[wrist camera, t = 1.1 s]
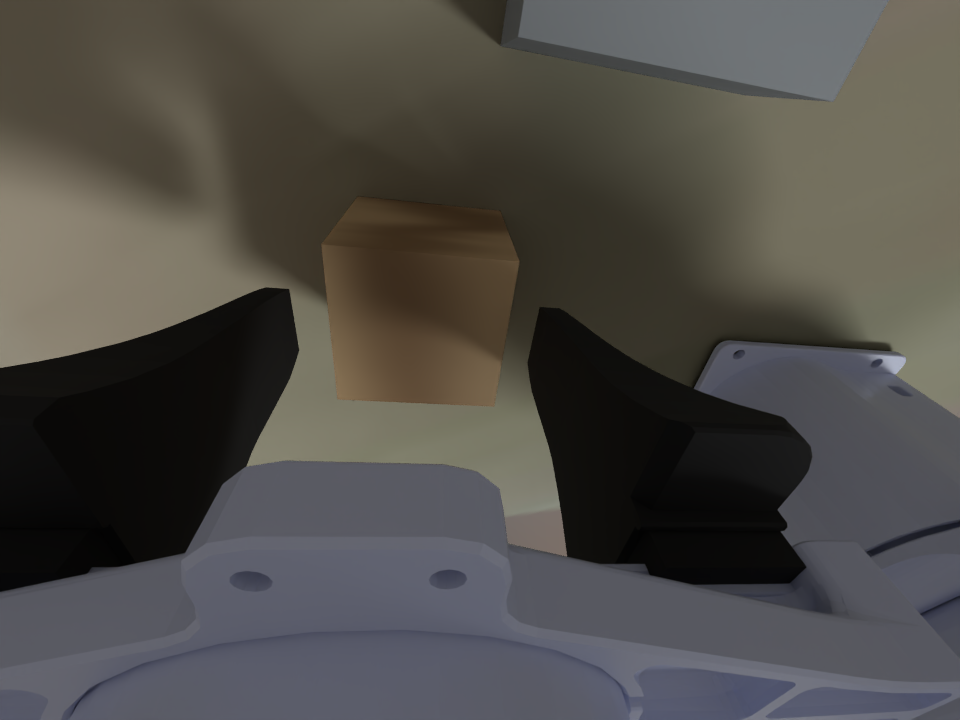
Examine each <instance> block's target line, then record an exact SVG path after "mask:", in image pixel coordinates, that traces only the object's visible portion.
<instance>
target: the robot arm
mask: <svg viewBox="0 0 960 720" xmlns="http://www.w3.org/2000/svg"><path fill="white" fill-rule="evenodd" d="M738 350H739V351H738ZM736 351H738V352H737V353H736V354H734V353H735V352H736ZM298 352H299V347H298V341H297V334H296V328H295V322H294V316H293V310H292V304H291V298H290V292H289V289H280V288H263V289H259V290H256V291H254V292H251V293H249V294H246V295H244V296H242V297H240V298H237V299H235V300H233V301H231V302H228V303H226V304H224V305H222V306H219V307H217V308H215V309H213V310H210V311H208V312H206V313H203V314H201V315H198V316H196V317H193V318H191V319H188V320H186V321H183V322H181V323H178V324H176V325H173V326H171V327H168V328H165V329H163V330H160V331H157V332H154V333H151V334H148V335H145V336H141V337H138V338H135V339H132V340H128V341H125V342H121V343H118V344H114V345H110V346H106V347H102V348H98V349H94V350H90V351H85V352H81V353H77V354H73V355H69V356H64V357H59V358H54V359H49V360H44V361H39V362H33V363H27V364H22V365H16V366H10V367H4V368H0V720H960V418H958V417H957V416H955V415H954V414H952V413H951V412H949V411H948V410H946V409H945V408H943V407H942V406H940V405H939V404H937V403H936V402H934V401H933V400H931V399H930V398H929V397H927V396H926V395H924V394H923V393H921V392H920V391H918V390H917V389H915V388H914V387H912V386H911V385H909V384H908V383H906V382H905V381H903V380H902V379H900V378H899V377H897V376H896V373H897V372H898V371H899V370H900V369H901V368H902V366H903V365H904V364H905V362H906V358H905V356H903V355H902V354H900V353H898V352H892V351H878V350H863V349H848V348H834V347H819V346H804V345H790V344H775V343H761V342H746V341H731V340H728V341H724V342H721V343H720V344H718V345H717V346H716V347H715V349H714V351H713V352H712V354H711V356H710V358H709V360H708V362H707V364H706V366H705V368H704V370H703V372H702V374H701V376H700V377H699V379H698V381H697V383H696V385H695V387H694V389H693V388H690V387H688V386H686V385H683V384H681V383H679V382H677V381H674V380H672V379H670V378H668V377H665V376H663V375H661V374H659V373H657V372H655V371H653V370H651V369H650V368H648V367H646V366H644V365H642V364H640V363H639V362H637V361H635V360H633V359H632V358H630V357H628V356H627V355H625V354H624V353H622V352H621V351H619V350H617V349H616V348H614V347H613V346H611V345H610V344H609V343H607V342H606V341H604V340H603V339H601V338H600V337H599V336H597V335H596V334H595V333H593V332H592V331H591V330H589V329H588V328H587V327H585V326H584V325H583V324H581V323H580V322H579V321H577V320H576V319H575V318H573V317H572V316H571V315H569V314H568V313H566V312H565V311H563V310H561V309H560V308H546V307H540V309H539V313H538V318H537V322H536V327H535V331H534V336H533V341H532V345H531V350H530V354H529V359H528V370H529V377H530V383H531V389H532V393H533V396H534V400H535V403H536V406H537V410H538V413H539V416H540V419H541V423H542V426H543V429H544V432H545V436H546V439H547V442H548V445H549V449H550V453H551V457H552V461H553V467H554V472H555V478H556V483H557V489H558V495H559V501H560V508H561V514H562V520H563V528H564V534H565V543H566V550H567V557H566V556H562V555H557V554H553V553H548V552H544V551H539V550H534V549H530V548H526V547H521V546H516V545H512V544H508V542H507V533H506V526H505V518H504V511H503V505H502V500H501V495H500V489H499V488H498V487H497V486H495V485H494V484H493V483H491V482H490V481H489V480H488V479H486V478H485V477H484V476H482V475H481V474H480V473H479V472H476V471H474V470H469V469H464V468H459V467H454V466H449V465H445V464H409V463H366V462H324V461H280V462H274V463H267V464H261V465H254V466H248V467H246V466H247V463H248V461H249V458H250V455H251V453H252V450H253V448H254V446H255V444H256V442H257V440H258V438H259V436H260V434H261V432H262V430H263V428H264V426H265V425H266V423H267V421H268V419H269V417H270V415H271V413H272V411H273V410H274V408H275V406H276V404H277V402H278V400H279V398H280V396H281V394H282V393H283V391H284V389H285V387H286V385H287V383H288V381H289V379H290V376H291V374H292V371H293V368H294V365H295V362H296V359H297V355H298Z"/></svg>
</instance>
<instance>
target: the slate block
mask: <svg viewBox="0 0 960 720" xmlns="http://www.w3.org/2000/svg"><path fill="white" fill-rule="evenodd" d="M888 1H889V0H507V5H506V12H505V19H504V25H503V32H502V39H501V46H502V47H507V48H512V49H517V50H522V51H527V52H532V53H537V54H542V55H547V56H552V57H557V58H562V59H567V60H572V61H577V62H582V63H587V64H592V65H597V66H602V67H607V68H612V69H617V70H622V71H627V72H632V73H637V74H642V75H647V76H652V77H657V78H662V79H667V80H672V81H677V82H681V83H686V84H691V85H696V86H701V87H706V88H711V89H716V90H721V91H726V92H731V93H736V94H741V95H749V96H763V97H776V98H790V99H803V100H817V101H831V102H833V101H834V100H835V98H836V96H837V94H838V92H839V90H840V89H841V87H842V85H843V83H844V81H845V79H846V78H847V76H848V74H849V72H850V70H851V68H852V67H853V65H854V63H855V61H856V59H857V57H858V56H859V54H860V52H861V50H862V48H863V46H864V45H865V43H866V41H867V39H868V37H869V35H870V34H871V32H872V30H873V28H874V26H875V24H876V23H877V21H878V19H879V17H880V15H881V13H882V12H883V10H884V8H885V6H886V4H887V2H888Z"/></svg>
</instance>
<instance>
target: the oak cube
mask: <svg viewBox="0 0 960 720" xmlns="http://www.w3.org/2000/svg"><path fill="white" fill-rule="evenodd" d="M321 248H322V257H323V267H324V276H325V285H326V295H327V304H328V313H329V323H330V332H331V341H332V351H333V360H334V370H335V379H336V388H337V398H338V399H340V400H362V401H384V402H406V403H428V404H450V405H472V406H493V407H494V404H495V399H496V393H497V387H498V382H499V376H500V370H501V365H502V359H503V353H504V348H505V342H506V336H507V330H508V325H509V319H510V313H511V308H512V302H513V296H514V291H515V285H516V279H517V273H518V268H519V259H518V256H517V254H516V251H515V248H514V246H513V243H512V240H511V238H510V235H509V233H508V230H507V227H506V225H505V222H504V219H503V217H502V214H501V211H497V210H487V209H477V208H468V207H458V206H448V205H438V204H428V203H418V202H408V201H399V200H389V199H379V198H369V197H359V196H358V197H357V198H356V199H355V200H354V202H353V203H352V204H351V206H350V207H349V208H348V210H347V211H346V212H345V214H344V215H343V216H342V218H341V219H340V220H339V222H338V223H337V224H336V225H335V227H334V228H333V229H332V231H331V232H330V233H329V235H328V236H327V237H326V239H325V240H324V241H323V243H322V244H321Z"/></svg>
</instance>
